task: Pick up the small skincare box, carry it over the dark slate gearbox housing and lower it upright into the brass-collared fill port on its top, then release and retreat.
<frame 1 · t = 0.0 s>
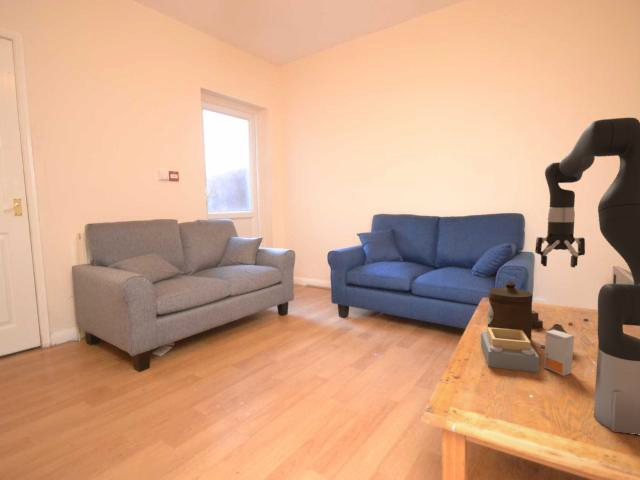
hand: (558, 266, 121), 29 cm above the table, tool pointing down, fingers open, 8 cm apart
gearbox: (506, 357, 116), on the table
skincare box: (557, 371, 107), on the table
stack of crates: (529, 327, 146), on the table
wooden container: (508, 338, 133), on the table
vase: (556, 349, 122), on the table
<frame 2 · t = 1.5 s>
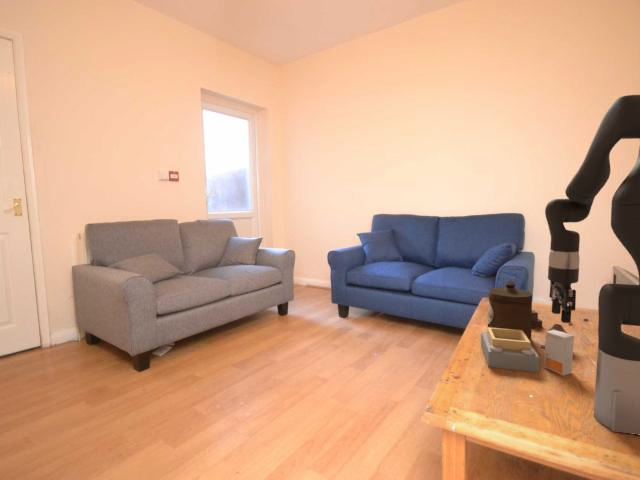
hand: (560, 317, 105), 17 cm above the table, tool pointing down, fingers open, 8 cm apart
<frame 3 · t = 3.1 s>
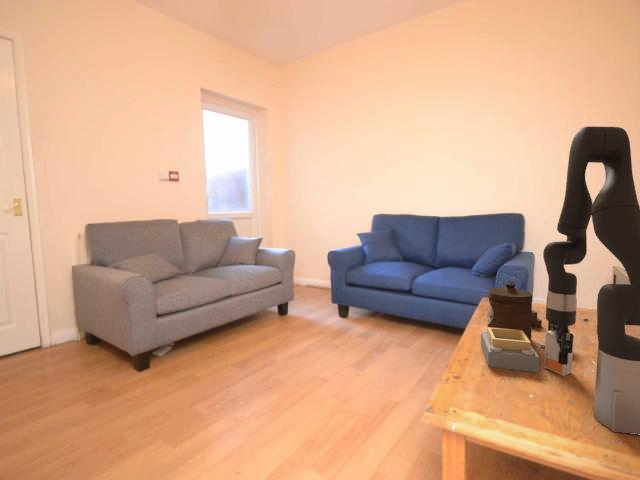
hand: (558, 358, 106), 4 cm above the table, tool pointing down, fingers closed on skincare box, 7 cm apart
skincare box: (557, 371, 107), on the table, touching gripper
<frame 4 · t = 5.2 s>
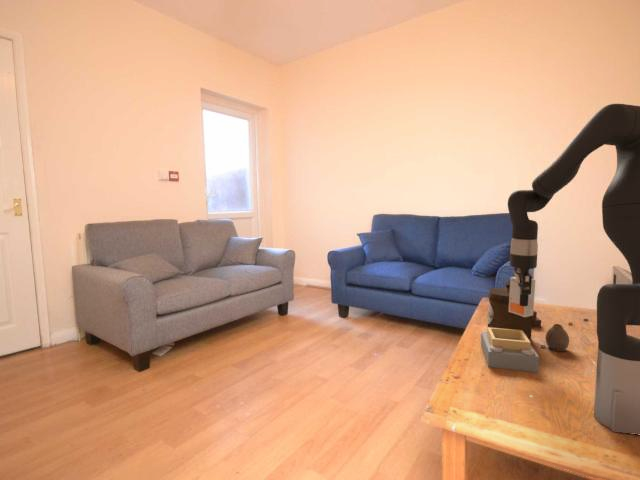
hand: (521, 302, 113), 20 cm above the table, tool pointing down, fingers closed on skincare box, 7 cm apart
skincare box: (520, 314, 113), point 15 cm above the table, touching gripper
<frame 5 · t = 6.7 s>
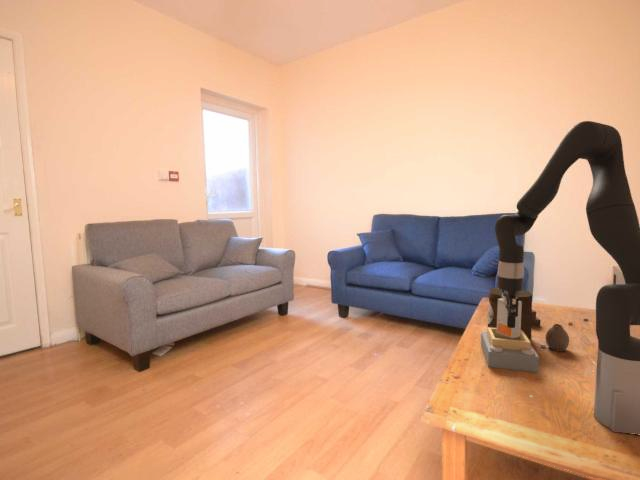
hand: (508, 323, 115), 12 cm above the table, tool pointing down, fingers closed on skincare box, 7 cm apart
skincare box: (508, 335, 115), point 8 cm above the table, touching gripper
when the fingers open (10 cm above the table, at t = 7.7 s): skincare box drops 1 cm, resting on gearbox.
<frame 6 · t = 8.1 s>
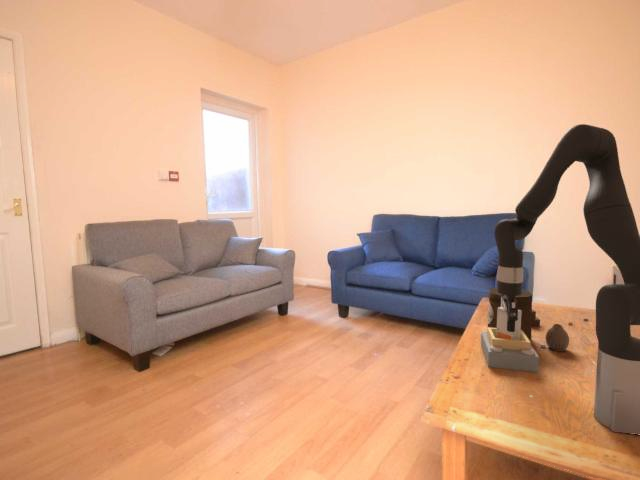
hand: (508, 326, 115), 11 cm above the table, tool pointing down, fingers open, 8 cm apart
skincare box: (507, 344, 115), point 5 cm above the table, touching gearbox
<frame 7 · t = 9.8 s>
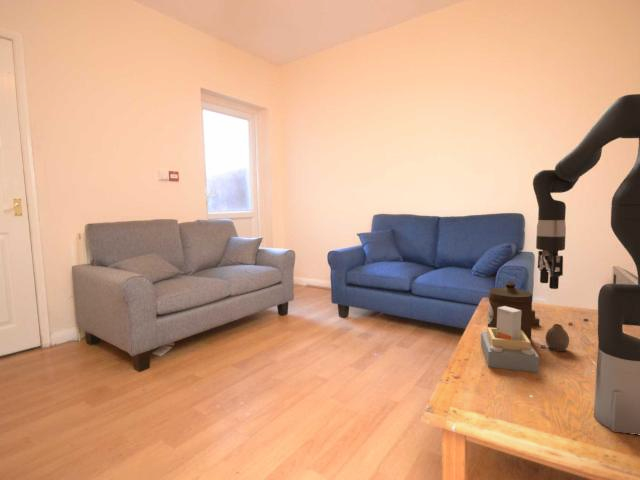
hand: (548, 285, 108), 26 cm above the table, tool pointing down, fingers open, 8 cm apart
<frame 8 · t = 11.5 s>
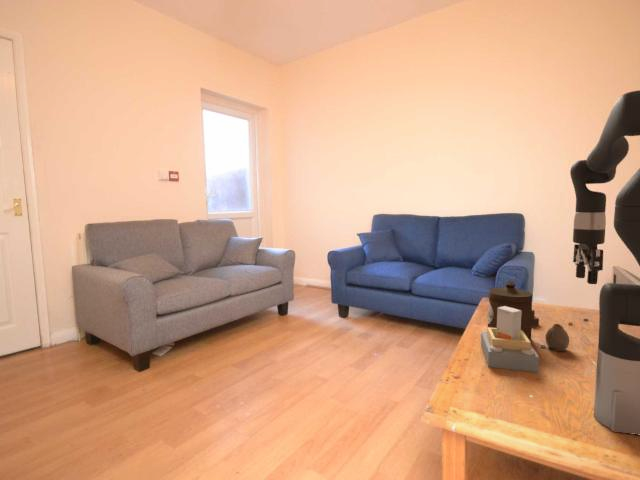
hand: (585, 280, 104), 28 cm above the table, tool pointing down, fingers open, 8 cm apart
at the end: skincare box inside the target area on the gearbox (0.4 cm from its centre), point 4.8 cm above the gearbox's base; skincare box tilted 0°; the gripper is holding nothing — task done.
